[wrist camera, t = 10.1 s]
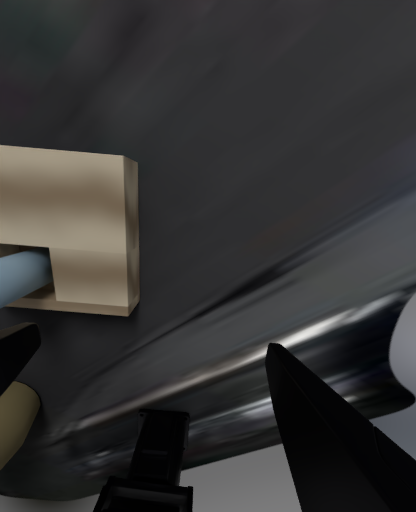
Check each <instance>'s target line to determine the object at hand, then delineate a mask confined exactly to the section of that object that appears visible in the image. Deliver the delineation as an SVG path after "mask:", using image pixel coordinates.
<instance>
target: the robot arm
mask: <svg viewBox="0 0 416 512" xmlns="http://www.w3.org/2000/svg"><path fill="white" fill-rule="evenodd" d="M40 344H41V337H40V331H39V326H38V325H37V324H36V323H27V322H26V323H21V324H18V325H15V326H12V327H9V328H6V329H3V330H0V397H1V396H2V394H3V393H4V392H5V391H6V390H7V389H8V387H9V386H10V385H11V384H12V382H13V381H14V380H15V379H16V377H17V376H18V375H19V373H20V372H21V371H22V369H23V368H24V367H25V365H26V364H27V363H28V362H29V360H30V359H31V358H32V356H33V355H34V354H35V352H36V351H37V350H38V348H39V347H40ZM265 367H266V372H267V378H268V384H269V389H270V395H271V400H272V405H273V410H274V414H275V418H276V421H277V425H278V428H279V432H280V436H281V439H282V443H283V446H284V449H285V453H286V457H287V460H288V464H289V467H290V471H291V474H292V478H293V481H294V485H295V488H296V492H297V495H298V499H299V503H300V506H301V510H302V512H416V460H415V459H413V458H412V457H411V456H410V455H409V454H408V453H406V452H405V451H404V450H403V449H401V448H400V447H399V446H398V445H397V444H396V443H394V442H393V441H392V440H391V439H390V438H389V437H387V436H386V435H385V434H384V433H383V432H382V431H380V430H379V429H378V428H377V427H375V426H373V424H372V423H371V422H370V421H369V420H368V419H367V418H365V417H364V416H363V415H362V414H361V413H360V412H358V411H357V410H356V409H355V408H354V407H353V406H352V405H350V404H349V403H348V402H347V401H346V400H345V399H343V398H342V397H341V396H340V395H339V394H338V393H336V392H335V391H334V390H333V389H332V388H331V387H330V386H328V385H327V384H326V383H325V382H324V381H323V380H321V379H320V378H319V377H318V376H317V375H316V374H315V373H313V372H312V371H311V370H310V369H309V368H308V367H306V366H305V365H304V364H303V363H302V362H301V361H300V360H298V359H297V358H296V357H295V356H294V355H293V354H291V353H290V352H289V351H288V350H287V349H286V348H285V347H283V346H282V345H281V344H278V343H270V344H269V345H268V349H267V354H266V359H265ZM189 418H190V415H189V414H188V413H186V412H173V411H161V410H149V409H140V410H139V412H138V441H137V444H136V447H135V451H134V454H133V457H132V460H131V464H130V467H129V470H128V473H127V477H126V479H122V478H115V476H110V477H109V479H108V482H107V484H106V485H105V486H103V488H102V490H101V493H100V496H99V498H98V501H97V503H96V505H95V508H94V510H93V512H192V504H193V487H191V486H188V487H182V486H179V482H180V473H181V465H182V456H183V451H186V450H187V444H188V431H189Z"/></svg>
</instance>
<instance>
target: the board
mask: <svg viewBox="0 0 416 512" xmlns="http://www.w3.org/2000/svg"><path fill="white" fill-rule="evenodd" d="M38 247H49V251H50V258H51V265H52V272H53V279H54V281H53V282H51V283H49V284H47V285H45V286H43V287H41V288H39V289H37V290H35V291H33V292H31V293H29V294H27V295H25V296H23V297H21V298H19V299H17V300H16V301H14V302H12V303H10V304H8V305H6V306H10V307H22V308H34V309H46V310H58V311H70V312H82V313H94V314H106V315H118V316H129V315H130V313H131V312H132V311H133V309H134V308H135V306H136V305H137V304H138V302H139V301H140V283H139V215H138V163H137V162H135V161H133V160H131V159H129V158H127V157H124V156H119V155H108V154H96V153H84V152H73V151H61V150H49V149H38V148H26V147H14V146H3V145H0V258H2V257H5V256H9V255H12V254H16V253H20V252H23V251H27V250H31V249H34V248H38Z"/></svg>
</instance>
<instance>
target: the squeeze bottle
mask: <svg viewBox="0 0 416 512" xmlns="http://www.w3.org/2000/svg"><path fill="white" fill-rule="evenodd" d="M39 407H40V400H39V397H38V395H37V394H36V393H35V391H34V390H33V389H31V388H30V387H28V386H27V385H25V384H22V383H19V382H16V381H13V382H12V384H11V385H10V386H9V387H8V389H7V390H6V391H5V392H4V393H3V394H2V396H1V397H0V470H1V469H2V468H3V467H4V465H5V464H6V463H7V462H8V461H9V460H10V459H11V458H12V456H13V455H14V454H15V453H16V452H17V451H18V450H19V448H20V447H21V446H22V445H23V443H24V441H25V438H26V436H27V434H28V432H29V430H30V428H31V425H32V423H33V421H34V419H35V417H36V415H37V412H38V410H39Z"/></svg>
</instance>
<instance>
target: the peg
mask: <svg viewBox="0 0 416 512" xmlns="http://www.w3.org/2000/svg"><path fill="white" fill-rule="evenodd" d="M53 281H54V279H53V272H52V265H51V258H50V251H49V247H38V248H34V249H31V250H27V251H23V252H20V253H16V254H12V255H9V256H5V257H2V258H0V308H2V307H4V306H6V305H8V304H10V303H12V302H14V301H16V300H17V299H19V298H21V297H23V296H25V295H27V294H29V293H31V292H33V291H35V290H37V289H39V288H41V287H43V286H45V285H47V284H49V283H51V282H53Z"/></svg>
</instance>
